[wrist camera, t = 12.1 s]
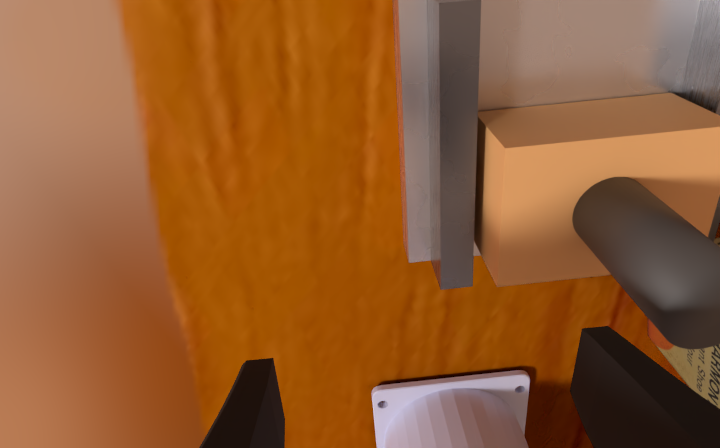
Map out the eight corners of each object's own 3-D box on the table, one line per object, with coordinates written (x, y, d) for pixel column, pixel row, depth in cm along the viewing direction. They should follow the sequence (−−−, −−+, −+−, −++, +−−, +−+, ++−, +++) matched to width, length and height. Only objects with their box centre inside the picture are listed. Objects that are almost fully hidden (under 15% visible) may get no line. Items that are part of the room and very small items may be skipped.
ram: (644, 216, 21) (820, 372, 14) (470, 234, 21) (554, 401, 14) (671, 92, 19) (901, 200, 11) (474, 112, 19) (577, 234, 11)
